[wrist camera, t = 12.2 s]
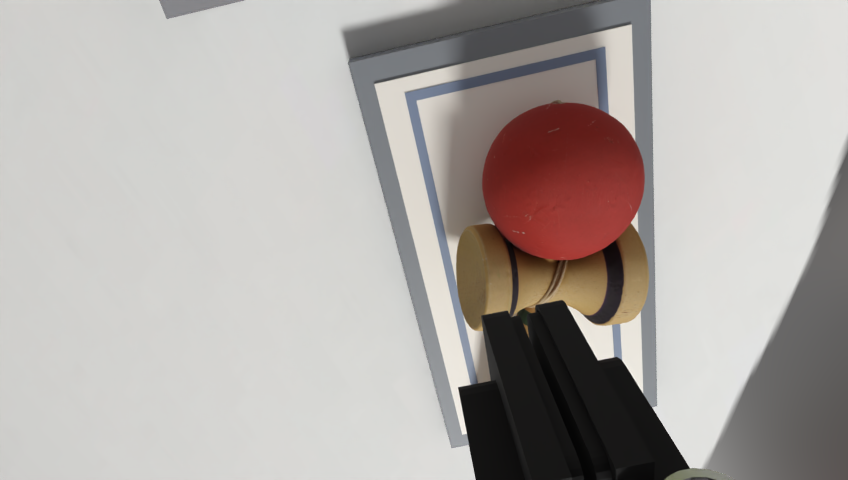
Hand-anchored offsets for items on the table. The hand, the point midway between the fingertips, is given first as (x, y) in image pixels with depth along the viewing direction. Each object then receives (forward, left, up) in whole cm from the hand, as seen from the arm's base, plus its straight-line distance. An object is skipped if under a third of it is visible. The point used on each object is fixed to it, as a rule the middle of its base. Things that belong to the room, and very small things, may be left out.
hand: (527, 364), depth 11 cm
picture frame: (+6, +3, -15) cm, 16 cm away
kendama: (+7, +2, -14) cm, 16 cm away
